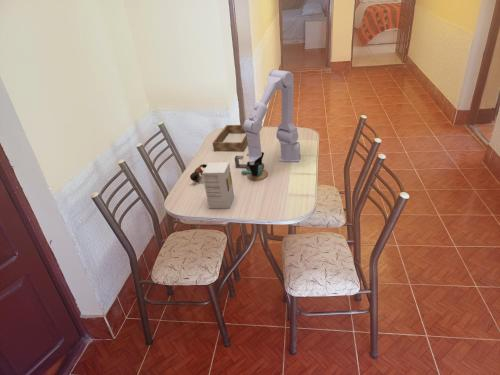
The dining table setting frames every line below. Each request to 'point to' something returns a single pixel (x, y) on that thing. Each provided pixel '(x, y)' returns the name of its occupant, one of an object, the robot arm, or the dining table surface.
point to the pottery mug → (197, 173)
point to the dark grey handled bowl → (242, 164)
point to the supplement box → (218, 185)
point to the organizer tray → (230, 146)
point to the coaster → (263, 176)
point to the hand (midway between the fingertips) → (257, 171)
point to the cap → (251, 172)
